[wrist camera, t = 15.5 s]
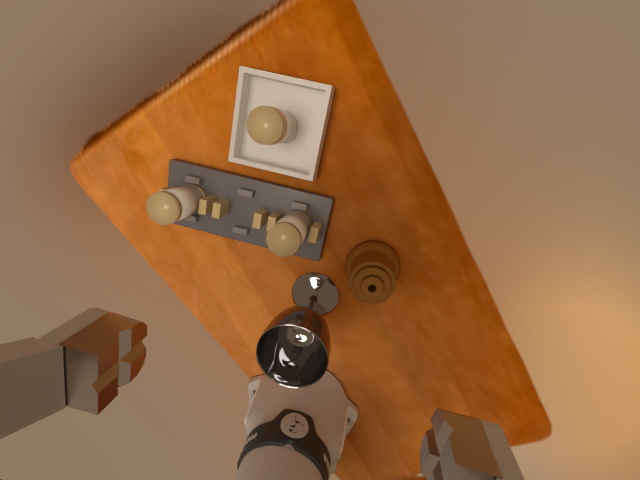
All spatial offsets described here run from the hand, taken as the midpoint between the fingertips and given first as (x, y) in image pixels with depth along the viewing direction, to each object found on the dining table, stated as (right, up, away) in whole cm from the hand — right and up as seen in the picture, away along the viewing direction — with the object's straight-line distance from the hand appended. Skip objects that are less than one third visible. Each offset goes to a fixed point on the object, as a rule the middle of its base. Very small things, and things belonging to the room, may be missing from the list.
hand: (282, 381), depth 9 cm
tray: (-4, +19, +34) cm, 39 cm away
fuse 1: (-17, +10, +37) cm, 42 cm away
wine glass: (0, -4, +41) cm, 41 cm away
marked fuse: (-4, +18, +34) cm, 39 cm away
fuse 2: (-2, +6, +36) cm, 37 cm away
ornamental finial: (+8, +1, +38) cm, 39 cm away
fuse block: (-9, +8, +38) cm, 40 cm away
